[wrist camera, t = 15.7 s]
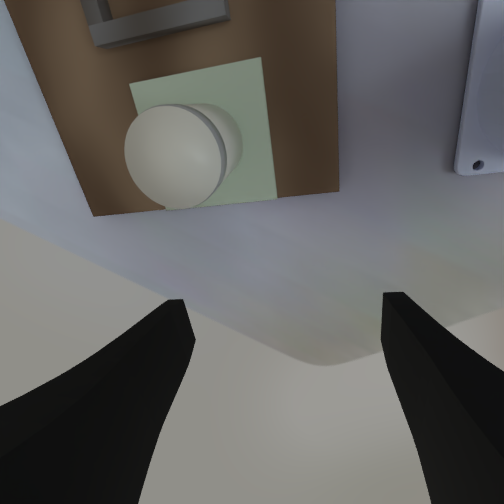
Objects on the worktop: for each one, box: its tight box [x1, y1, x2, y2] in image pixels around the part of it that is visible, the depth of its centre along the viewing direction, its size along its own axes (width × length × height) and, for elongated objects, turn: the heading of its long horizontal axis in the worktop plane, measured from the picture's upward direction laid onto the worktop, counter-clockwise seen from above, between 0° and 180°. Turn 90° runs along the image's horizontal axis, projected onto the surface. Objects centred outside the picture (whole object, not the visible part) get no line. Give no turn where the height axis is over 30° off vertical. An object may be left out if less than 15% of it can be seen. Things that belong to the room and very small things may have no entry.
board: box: [4, 0, 339, 217], centre depth 12 cm, size 16×19×6 cm
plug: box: [124, 103, 243, 209], centre depth 14 cm, size 4×4×5 cm
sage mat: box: [129, 57, 278, 211], centre depth 16 cm, size 7×7×1 cm
